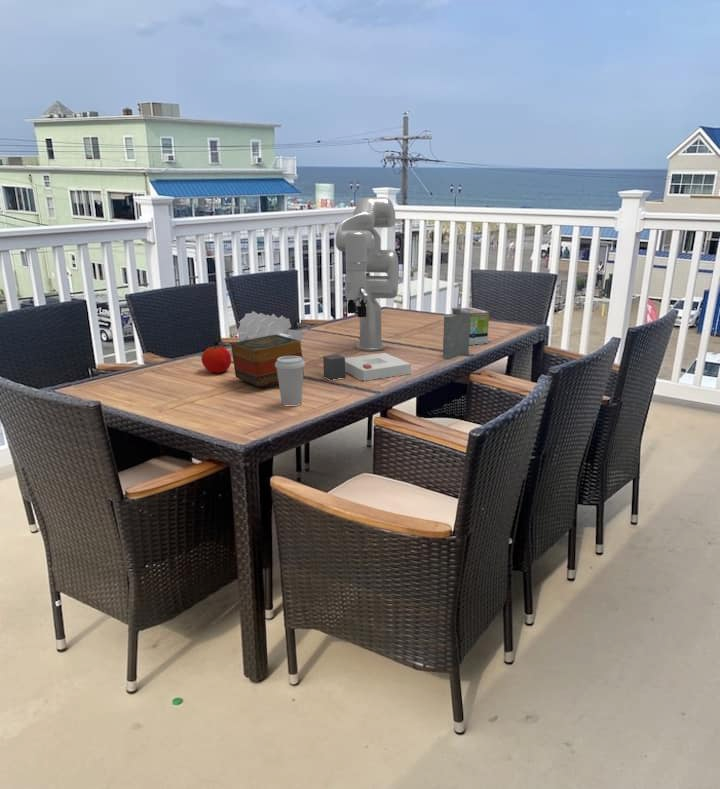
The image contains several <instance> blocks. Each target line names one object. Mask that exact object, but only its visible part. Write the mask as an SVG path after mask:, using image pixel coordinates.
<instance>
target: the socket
mask: <svg viewBox="0 0 720 789" xmlns="http://www.w3.org/2000/svg"><path fill="white" fill-rule="evenodd" d="M345 371H346V372H345V373H347V372H348V373H347V374H349V373H350V374H352V375H354V376H356V377H358V378H360V379H362V380H370V381H373V380H372V379H377V380H379V379H378V378H383V379H386V378H385V377H389V378H392V377H391V376H396V377H399V376H398V375H402V376H407V375H406V374H409V375H412V363H411V362H410V363H409V362H407V361H405V360H403V359H400V358H398V357H397V356H393V355H391V354H389V353H387V352H381V353H380V352H379V353H373V354H367V355H359V356H351V357H345ZM350 374H349V375H350ZM352 375H351V376H352ZM354 376H353V377H354ZM356 377H355V378H356ZM358 378H357V379H358ZM360 379H359V380H360ZM362 380H361V381H362Z"/></svg>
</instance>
